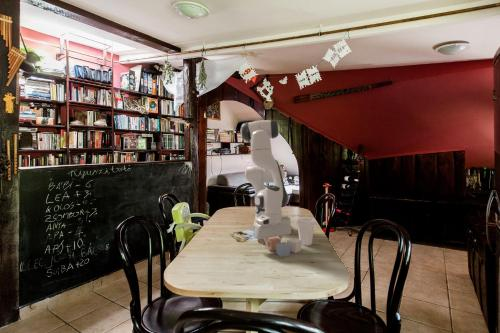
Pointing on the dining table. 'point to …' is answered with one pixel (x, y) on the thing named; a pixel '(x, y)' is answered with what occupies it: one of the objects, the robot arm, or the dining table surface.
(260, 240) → the walnut cube
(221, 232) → the dining table surface
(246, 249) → the dining table surface
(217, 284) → the dining table surface
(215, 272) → the dining table surface
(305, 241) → the foam cup
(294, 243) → the pale grey cube
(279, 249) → the slate blue cube
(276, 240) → the terracotta cube
